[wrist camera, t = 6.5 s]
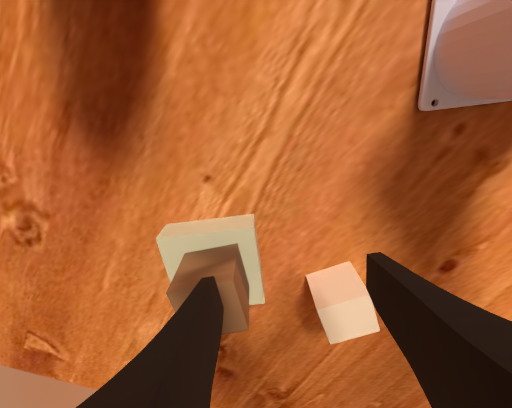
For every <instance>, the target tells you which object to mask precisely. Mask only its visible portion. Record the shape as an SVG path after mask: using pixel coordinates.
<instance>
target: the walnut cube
mask: <svg viewBox="0 0 512 408" xmlns="http://www.w3.org/2000/svg"><path fill="white" fill-rule="evenodd" d="M210 276H214V277H215V280H216V284H217V287H218V290H219V294H220V297H221V300H222V303H223V307H224V313H223V328H222V334H228V333H234V332H241V331H247V330H249V283H248V279H247V275H246V272H245V268H244V265H243V261H242V258H241V254H240V251H239V247H238V243H236V244H231V245H226V246H220V247H215V248H210V249H204V250H199V251H194V252H188V253H185V254H184V256H183V258H182V260H181V262H180V264H179V267H178V269H177V271H176V273H175V275H174V277H173V280H172V282H171V284H170V286H169V288H168V290H167V296H168V298H169V300H170V302H171V304H172V306H173V309H174V311H175V313H176V311H177V310H178V309H179V307H180V306H181V305H182V304H183V302H184V301H185V300H186V298H187V297H188V296H189V294H190V293H191V292H192V290H193V289H194V287H195V286H196V285H197V283H198V282H199V281H200V280H201V278H203V277H210Z"/></svg>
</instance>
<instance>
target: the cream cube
mask: <svg viewBox="0 0 512 408" xmlns="http://www.w3.org/2000/svg"><path fill="white" fill-rule="evenodd" d="M306 277H307V281H308V284H309V287H310V290H311V294H312V297H313V300H314V303H315V306H316V310H317V312H318V315H319V317H320V320H321V322H322V325H323V327H324V330H325V332H326V335H327V337H328V340H329V342H330V345H331V344H335V343H338V342H342V341H346V340H349V339H353V338H357V337H360V336H364V335H367V334H371V333H375V332H378V331H380V328H379V325H378V321H377V317H376V314H375V310H374V306H373V303H372V300H371V298H370V296H369V293H368V291H367V289H366V287H365V285H364V283H363V282H362V280H361V279H360V277H359V275H358V274H357V272H356V271H355V269H354V267H353V266H352V264H351V263H350V261H348V262H345V263H342V264H339V265H336V266H332V267H329V268H326V269H323V270H320V271H317V272H314V273H311V274H307V275H306Z"/></svg>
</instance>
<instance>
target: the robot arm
mask: <svg viewBox="0 0 512 408" xmlns="http://www.w3.org/2000/svg"><path fill="white" fill-rule="evenodd" d="M433 100H435V104H434V105H433V106H432V105H431V103H432V101H433ZM505 101H512V0H432V5H431V13H430V20H429V27H428V35H427V42H426V49H425V57H424V64H423V71H422V78H421V86H420V93H419V100H418V108H419V110H421V111H431V110H440V109H448V108H456V107H464V106H472V105H480V104H489V103H497V102H505ZM366 289H367V291H368V293H369V296H370V298H371V300H372V302H373V304H374V306H375V308H376V310H377V312H378V314H379V315H380V317H381V319H382V320H383V322H384V324H385V325H386V327H387V328H388V330H389V332H390V333H391V335H392V336H393V338H394V340H395V341H396V343H397V345H398V346H399V348H400V349H401V351H402V353H403V354H404V356H405V357H406V359H407V361H408V362H409V364H410V366H411V368H412V369H413V371H414V373H415V375H416V377H417V379H418V381H419V383H420V385H421V387H422V389H423V391H424V393H425V395H426V397H427V399H428V401H429V403H430V405H431V407H432V408H512V321H509V320H507V319H504V318H502V317H500V316H497V315H495V314H493V313H490V312H488V311H486V310H484V309H482V308H479V307H477V306H475V305H473V304H471V303H469V302H467V301H465V300H463V299H461V298H459V297H457V296H455V295H453V294H451V293H449V292H447V291H445V290H443V289H441V288H440V287H438V286H436V285H434V284H432V283H431V282H429V281H427V280H425V279H424V278H422V277H420V276H419V275H417V274H415V273H414V272H412V271H410V270H409V269H407V268H405V267H404V266H402V265H400V264H399V263H397V262H396V261H394V260H392V259H391V258H389V257H388V256H386V255H384V254H382V253H381V252H378V253H371V254H367V272H366ZM223 313H224V307H223V303H222V300H221V297H220V294H219V290H218V287H217V284H216V280H215V277H214V276H210V277H203V278H201V280H200V281H199V282H198V283H197V285H196V286H195V287H194V289H193V290H192V292H191V293H190V294H189V296H188V297H187V298H186V300H185V301H184V302H183V304H182V305H181V306H180V307H179V309H178V310H177V311H176V313H175V314H174V315H173V316H172V317H171V319H170V320H169V321H168V322H167V323H166V325H165V326H164V327H163V328H162V329H161V331H160V332H159V333H158V334H157V335H156V336H155V337H154V338H153V339H152V340H151V342H150V343H149V344H148V345H147V346H146V347H145V348H144V349H143V350H142V351H141V352H140V353H139V354H138V355H137V356H136V357H135V358H134V359H132V360H131V361H130V362H129V363H128V364H127V365H126V366H125V367H124V368H123V369H122V370H120V371H119V372H118V373H117V374H116V375H115V376H114V377H113V378H112V379H110V380H109V381H108V382H107V383H106V384H105V385H103V386H102V387H101V388H100V389H99V390H97V391H96V392H95V393H94V394H93V395H91V396H90V397H89V398H88V399H86V400H85V401H84V402H83V403H81V404H80V405H79V406H77V407H76V408H210V400H211V391H212V384H213V378H214V373H215V367H216V362H217V357H218V351H219V346H220V340H221V335H222V328H223Z"/></svg>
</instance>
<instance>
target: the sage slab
mask: <svg viewBox="0 0 512 408" xmlns="http://www.w3.org/2000/svg"><path fill="white" fill-rule="evenodd" d="M156 241H157V244H158V247H159V250H160V253H161V256H162V259H163V262H164V265H165V268H166V271H167V274H168V277H169V280H170V283H171V282H172V280H173V277H174V275H175V273H176V271H177V269H178V267H179V264H180V262H181V260H182V258H183V256H184V254H185V253H188V252H194V251H199V250H204V249H210V248H215V247H220V246H226V245H231V244H236V243H238V247H239V251H240V254H241V258H242V261H243V265H244V268H245V272H246V275H247V279H248V283H249V305H255V304H265V295H264V281H263V274H262V267H261V260H260V253H259V246H258V239H257V232H256V225H255V218H254V214H248V215H239V216H231V217H222V218H214V219H206V220H197V221H189V222H180V223H172V224H166V225H165V227H164V228H163V229H162V231H161V232H160V233H159V235H158V236H157V238H156Z"/></svg>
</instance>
